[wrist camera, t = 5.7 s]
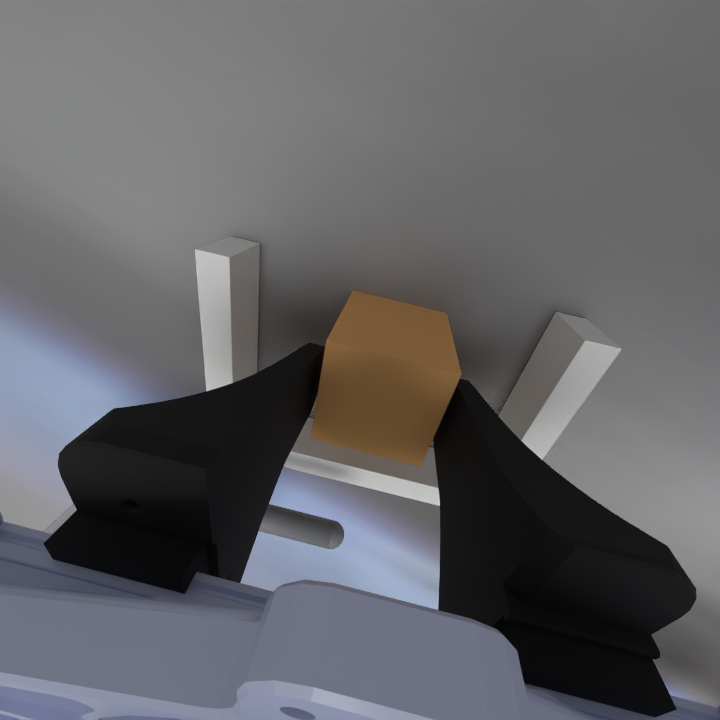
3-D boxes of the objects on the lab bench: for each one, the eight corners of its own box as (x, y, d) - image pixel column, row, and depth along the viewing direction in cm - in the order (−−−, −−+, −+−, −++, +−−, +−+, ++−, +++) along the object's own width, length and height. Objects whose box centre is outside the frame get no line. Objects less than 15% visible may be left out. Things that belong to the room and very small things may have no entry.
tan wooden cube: (446, 310, 13) (461, 374, 9) (418, 386, 15) (420, 466, 11) (354, 288, 13) (326, 340, 9) (338, 365, 16) (310, 438, 11)
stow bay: (585, 318, 12) (707, 420, 7) (487, 479, 18) (517, 605, 12) (228, 236, 13) (106, 277, 8) (233, 416, 18) (161, 514, 13)
